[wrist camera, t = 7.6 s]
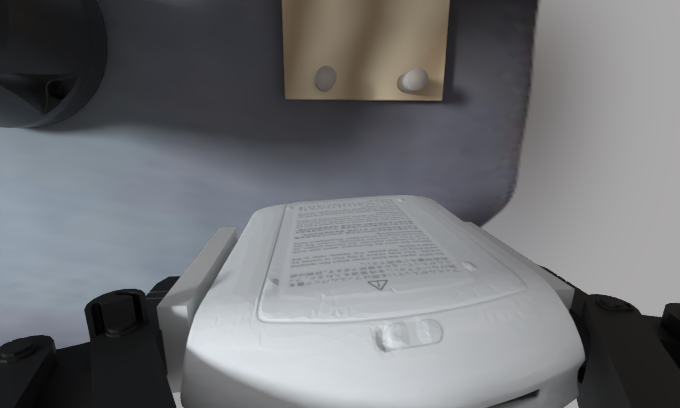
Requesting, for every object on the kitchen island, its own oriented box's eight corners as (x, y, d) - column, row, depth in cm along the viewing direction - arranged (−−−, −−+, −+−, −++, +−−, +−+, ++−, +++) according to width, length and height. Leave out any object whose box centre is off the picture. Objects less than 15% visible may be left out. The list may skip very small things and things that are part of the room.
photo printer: (254, 276, 19) (163, 552, 7) (244, 201, 18) (114, 378, 6) (432, 259, 20) (627, 480, 8) (434, 187, 19) (663, 315, 7)
